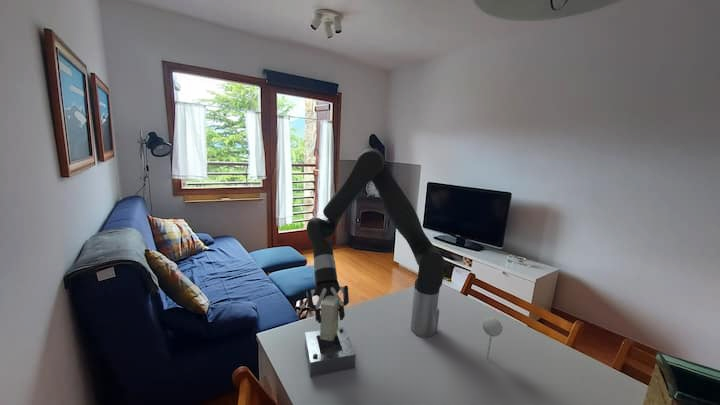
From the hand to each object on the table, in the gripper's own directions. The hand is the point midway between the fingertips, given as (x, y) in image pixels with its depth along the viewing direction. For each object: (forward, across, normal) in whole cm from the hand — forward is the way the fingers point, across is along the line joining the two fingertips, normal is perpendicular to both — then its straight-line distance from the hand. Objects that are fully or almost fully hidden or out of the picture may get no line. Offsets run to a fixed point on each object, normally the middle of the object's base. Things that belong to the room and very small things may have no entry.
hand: (330, 321), depth 87 cm
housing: (+9, 0, +11) cm, 14 cm away
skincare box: (+3, 0, +6) cm, 6 cm away
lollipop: (+19, +52, +1) cm, 55 cm away
